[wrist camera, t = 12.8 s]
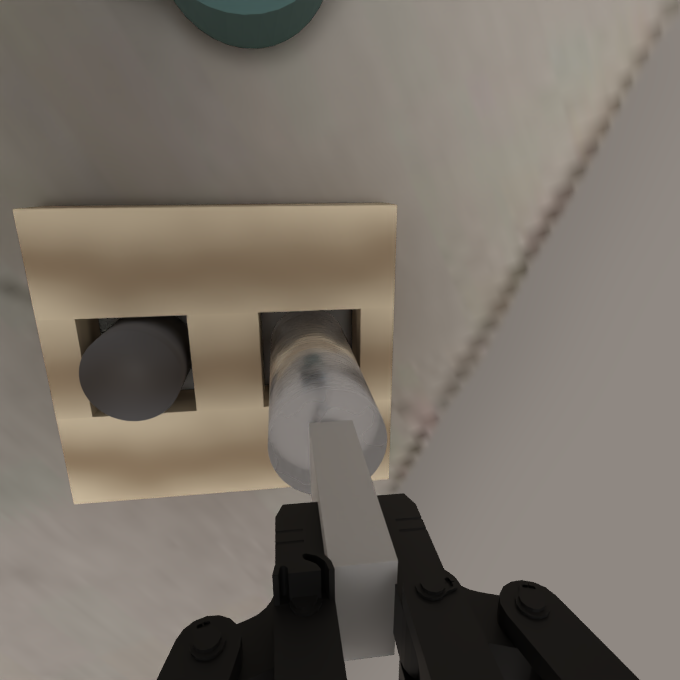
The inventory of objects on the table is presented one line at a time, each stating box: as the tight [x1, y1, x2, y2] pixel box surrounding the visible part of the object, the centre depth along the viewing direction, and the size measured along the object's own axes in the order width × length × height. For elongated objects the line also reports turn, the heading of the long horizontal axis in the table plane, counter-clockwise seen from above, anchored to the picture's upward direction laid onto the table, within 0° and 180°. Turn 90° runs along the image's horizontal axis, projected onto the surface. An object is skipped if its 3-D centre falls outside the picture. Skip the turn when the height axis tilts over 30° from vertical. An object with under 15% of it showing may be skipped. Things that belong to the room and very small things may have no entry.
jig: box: [12, 203, 397, 504], centre depth 26 cm, size 16×18×4 cm
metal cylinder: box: [268, 310, 387, 494], centre depth 23 cm, size 4×4×12 cm
